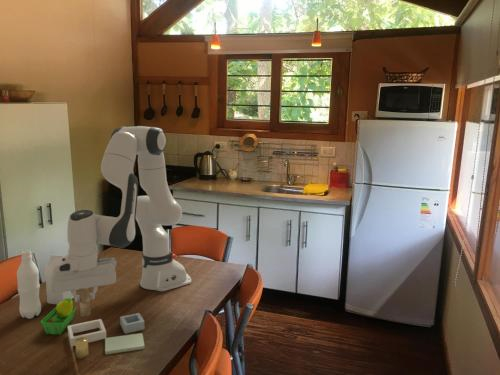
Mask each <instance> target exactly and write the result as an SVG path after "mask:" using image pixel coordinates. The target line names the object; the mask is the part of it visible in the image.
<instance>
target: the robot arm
mask: <svg viewBox="0 0 500 375" xmlns="http://www.w3.org/2000/svg"><path fill="white" fill-rule="evenodd" d="M166 146H167V136H166V133H165V131H164V130H163V129H162V128H160V127H156V126H144V125H137V126H119V127H116V128H115V129H113V131H112V133H111V135H110V140H109V142H108V143H107V146H106V148H105V150H104V153H103V157H102V160H101V164H100V172H101V175H102V176H103V178H104V179H105V180H106V181H107V182H108V183H109V184H111V185H114V186H115V187H116V188H118V189H120V190H121V193H122V194H121V195H122V198H121V206H120V213H119V215H118V216H117V217H116V216H115V217H114V216H108V215H107V216H106V215H101V214H96V213H94V211H92V210H90V209H80V210H76V211H74V212H72V213H71V214H70V215H69V217H68V221H67V231H66V232H67V233H66V234H67V243H68V252H67V254H66V255H63V256H64V257H61V258H59V259H56V260H55V261H54V269H53V270H52V273H51V279H50V289H51V292H53V293H60V292H66V291H71V293H72V295H73V296H74V303H78V302H79V303H80V295H79V294H76V293H77V290H78V291H79V289H84V288H92V291H91V292H90V301H91V300H95V298H96V294H97V292H98V290H99V287H103V286H108V285H114V284H115V283H117V273H116V267H117V260H116V258H114V257H112V256H107V257H98V256H99V255H98V248H97V245H98V244H99V245H105V246H111V247H115V248H118V249H124V248H126V247H127V246H129V245H130V244H132V243H133V242H134V240H135V238H136V231H137V229H136V228H137V226H136V222H137V225H138V227H139V230H140V233H141V236H142V251H143V252H142V254H141V264H142V271H141V272H142V274H141V278H140V280H139V281H140V282H139V285H140V287H141V288H143V289H144V290H145V289H146V290H151V291H152V290H153V291H158V292H167V291H169V290H172V289H173V290H174V289H176V288H179V287H183V286H186V285H190V284H191V283H192V278H191V276H190V275H189V274H188V273H187V272H186V269H185V267H184V265H183V264H182V263H180V262H179V261H177V260H176V259H177V258H178V256H177V255H176V254H175V253H174V252H172V251H170V237H169V234H168V232H167V231H166V230H165V229H164V227H163V226H175V225H177V224H178V223H179V222H180V221H181V219H182V216H183V209H182V206H181V205H180V204H179V203H178V201H176V199H175V198H174V196H173V195H172V193H171V190H170V188H169V185H168V184H169V183H168V181H167V179H168V178H167V168H166V158H165V155H164V150H165V149H166ZM136 159H137V167H138V177H137V175H135V173H134V167H135V163H136ZM138 178H139V180H138ZM139 185H140V187H141V189H143V191H144V192H145V193H146V195H139Z"/></svg>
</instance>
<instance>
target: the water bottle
mask: <svg viewBox="0 0 500 375" xmlns="http://www.w3.org/2000/svg"><path fill="white" fill-rule="evenodd" d="M20 258H21V261H20V264H19V266H18V268H17V271H16V278H17V282H16V283H17V292H18V296H19V307H18V309H19V314H20V316H21V317H22V318H23V319H25V318H26V319H27V320H28V319H34V317H35V316H36V317H38V316H39V315H40V314H41V311H42V303H41V299H40V288H41V286H40V276H39V274H40V271H39V268H38V266H37V265H36V264H35V263H34V261H33V255H32V251H31V249H26V250H22V251H21V257H20Z"/></svg>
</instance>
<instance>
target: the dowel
mask: <svg viewBox="0 0 500 375" xmlns="http://www.w3.org/2000/svg"><path fill="white" fill-rule="evenodd" d="M90 290H91V289H90V288H84V289H78V292H79V294H78V295H80V301H79V311H80V313H79V315H80V317H89V316H90V315H91V300H90V293H91V291H90Z"/></svg>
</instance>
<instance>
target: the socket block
mask: <svg viewBox="0 0 500 375" xmlns="http://www.w3.org/2000/svg"><path fill="white" fill-rule="evenodd" d="M119 320H120V322H119V323H120V327H121V329H122V332H123V333H124V334H125V335H128V334H130V333H135V332H139V331H143V330H145V327H146V326H145V320H144V318H143V316H142V315H141V313H140V312H136V313H133V314H127V315H121V316H119Z"/></svg>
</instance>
